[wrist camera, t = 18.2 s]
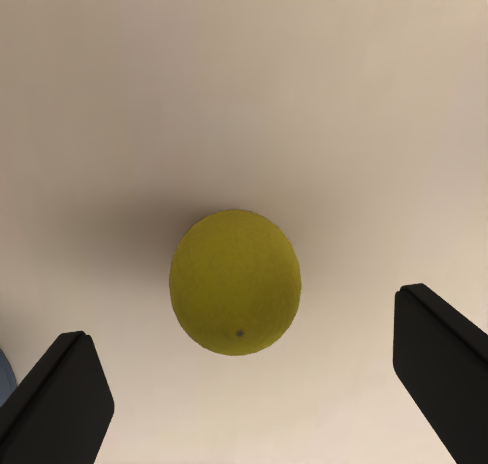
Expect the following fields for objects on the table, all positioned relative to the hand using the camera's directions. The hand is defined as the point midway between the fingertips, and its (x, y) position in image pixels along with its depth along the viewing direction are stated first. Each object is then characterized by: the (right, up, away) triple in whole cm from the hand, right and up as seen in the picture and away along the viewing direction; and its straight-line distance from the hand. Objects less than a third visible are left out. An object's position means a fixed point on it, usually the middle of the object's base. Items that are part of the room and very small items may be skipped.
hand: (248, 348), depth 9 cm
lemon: (-1, +3, +8) cm, 9 cm away
